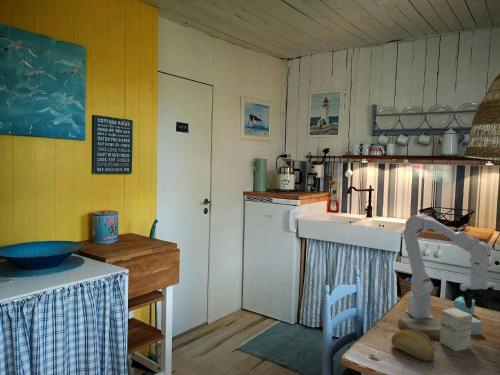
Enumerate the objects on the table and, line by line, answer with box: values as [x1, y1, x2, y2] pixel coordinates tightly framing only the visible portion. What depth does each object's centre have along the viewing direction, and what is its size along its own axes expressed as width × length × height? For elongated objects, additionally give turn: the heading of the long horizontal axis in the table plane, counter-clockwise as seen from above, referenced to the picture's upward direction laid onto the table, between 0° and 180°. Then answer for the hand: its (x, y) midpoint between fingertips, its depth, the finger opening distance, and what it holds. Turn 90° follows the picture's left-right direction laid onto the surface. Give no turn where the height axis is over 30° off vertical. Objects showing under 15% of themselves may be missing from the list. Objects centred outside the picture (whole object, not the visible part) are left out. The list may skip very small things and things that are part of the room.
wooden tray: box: [397, 317, 441, 339], centre depth 156 cm, size 12×15×3 cm
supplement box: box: [439, 307, 473, 352], centre depth 144 cm, size 7×7×13 cm
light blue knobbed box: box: [453, 296, 476, 315], centre depth 173 cm, size 12×6×8 cm, turn 134°
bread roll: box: [390, 328, 435, 362], centre depth 138 cm, size 10×15×8 cm, turn 42°
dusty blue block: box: [471, 316, 483, 336], centre depth 156 cm, size 5×5×5 cm
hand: (476, 307), depth 155 cm, fingers open, 7 cm apart
